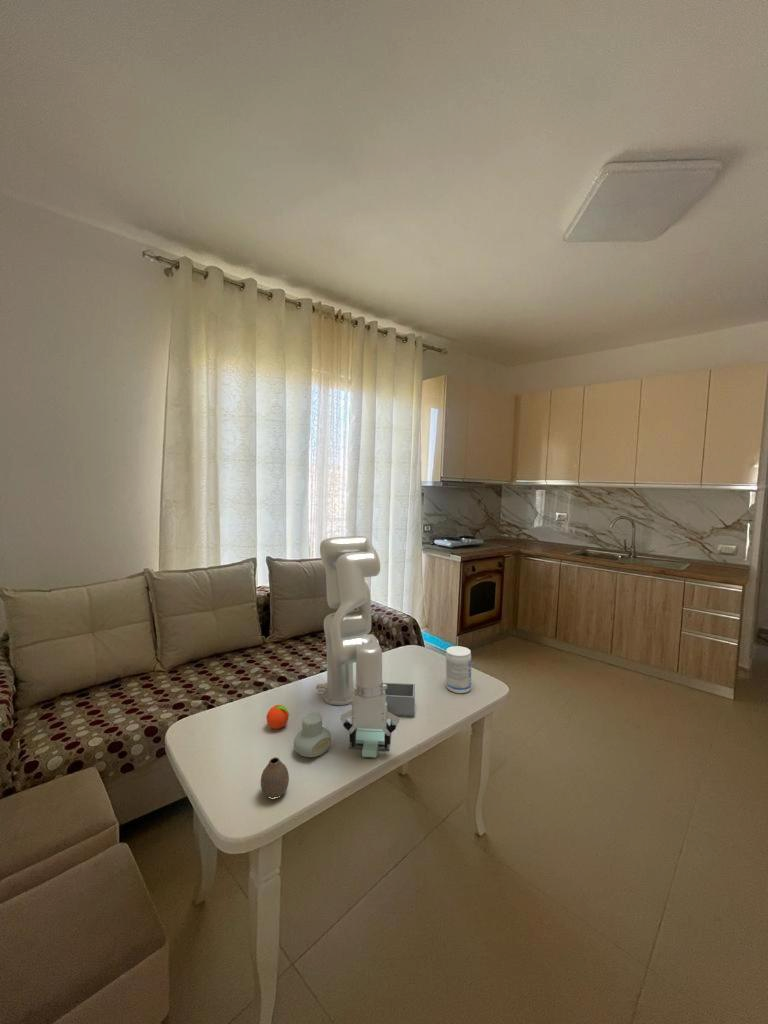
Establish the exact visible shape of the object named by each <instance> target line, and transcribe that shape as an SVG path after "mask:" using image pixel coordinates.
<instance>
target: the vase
mask: <svg viewBox="0 0 768 1024" xmlns="http://www.w3.org/2000/svg"><path fill="white" fill-rule="evenodd" d="M289 782H290V773H289V770H288V768H287V766H286V764H284V763H283V762H282V761H281V760H280V758H279V757H272V758H270V759H269V761H268V764H267V765H266V766H265V768H264V769H263V771H262V772H261V776H260V788H261V791H262V794H263V796H264V797H266V796H267V797H271V798H274V797H279V796H281V795H282V794H283V795H284V794H285V793H286V791H287V789H288V787H289V784H290V783H289ZM283 795H282V796H283ZM282 796H281V797H282ZM267 797H266V798H267Z"/></svg>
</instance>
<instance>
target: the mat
mask: <svg viewBox="0 0 768 1024" xmlns="http://www.w3.org/2000/svg"><path fill="white" fill-rule="evenodd" d="M392 723H393V721H392V720H391V723H390V725H391V724H392ZM356 732H357V728H356ZM392 733H393V732H392ZM392 733H391V734H390V744H388V746H387V749H385V745H381V744H378V749H377V751H385V752H390V748H391V742H392V741H391V740H392ZM363 745H364V744H359V743H355V746H354V747H352V742H350V741H349V745H348V749H350V750H362V749H363Z"/></svg>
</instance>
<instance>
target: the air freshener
mask: <svg viewBox="0 0 768 1024" xmlns="http://www.w3.org/2000/svg"><path fill="white" fill-rule="evenodd" d="M301 725H302V726H301V729H300V730H299V731H298V732H297V733H296V734H295V737H294V739H293V747H294V749H295V751H296V753H298V755H300V756H302V757H306V758H315V757H318V756H322V754H324V753H325V752H326V751H327V750H328V749H329V747H330V746H331V744H332V734H331V732H330V730H329V729H328V728H327V727H324V726H323V716H322V714H321V713H319V712H309V713H306V714H305V715H304V716H303V717H302V718H301Z"/></svg>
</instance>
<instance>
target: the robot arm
mask: <svg viewBox="0 0 768 1024" xmlns="http://www.w3.org/2000/svg"><path fill="white" fill-rule="evenodd" d="M319 554H320V558H321V561H322V564H323V567H324V569H325V576H326V577H325V578H326V579H325V580H326V581H325V583H326V600H327V605H328V607H329V608H330V609H333V610H336V612H332V613H329V614H327V615H326V616H325V617H324V620H323V632H324V637H325V644H326V645H325V646H326V647H325V648H326V681H327V682H325V683H316V685H315V689H316V690H317V692H318V693H323V695H322V696H323V700H324V702H326V703H327V704H329V705H332V706H345V705H349V704H352V708H351V710H348V711H346V712H344V713H342V714H341V715H339V720H340V722H341V724H343V728H344V729H346V731H347V732H348V734H349V743H350V742H352V747H354V746H355V742H356V728H365V729H382V730H383V731H384V732H385V737H384V738H385V749H387V746H388V744H390V745H391V742H390V734H391V733H393V732H394V731H395V730H396V729H397V727H398V725H399V723H400V720H401V719H400V718H401V717H397V716H395V715H394V714H392V713H390V712H388V711H387V699H386V693H385V689H387V685H385V684H383V683H384V682H383V650H382V647H381V646H380V642H379V639H378V638H377V637H376V635H374V634H373V633H372V634H371V633H370V632H371V630H372V606H371V604H372V601H371V598H372V597H371V590H370V586H369V585H368V583H367V582H366V580H365V578H371V577H377V576H378V575H379V574H380V571H381V561H380V558H379V556H378V555H379V554H378V553H377V551H376V549H375V547H374V546H373V544H372V543H371V541H370V538H368V537H367V536H364V535H357V536H354V535H353V536H333V537H328V538H325V539H323V540H322V541H321V542H320V545H319ZM354 663H355V684H356V686H355V687H356V688H355V687H354ZM349 718H351V722H349V721H348V719H349ZM387 719H390V720H392V721H393V723H392V724H391V725H389V724H388V723H387ZM391 735H392V734H391Z"/></svg>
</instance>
